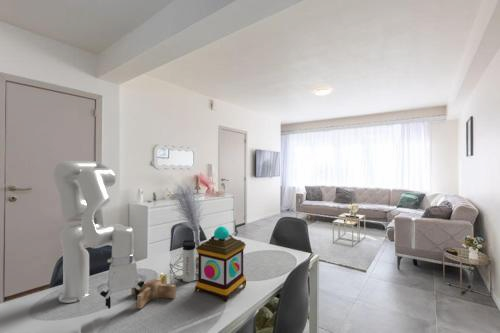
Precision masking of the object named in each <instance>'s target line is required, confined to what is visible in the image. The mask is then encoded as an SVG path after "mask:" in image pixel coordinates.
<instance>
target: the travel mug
mask: <svg viewBox="0 0 500 333" xmlns="http://www.w3.org/2000/svg"><path fill="white" fill-rule="evenodd" d="M196 248H197V247H196V241H194V240H190V239H189V240H188V239H185V240H183V241H182V281H183V282H186V283H189V282H193V281H195V280H196V273H197V272H196V271H197V270H196V267H197V266H196V261H197V260H196V255H197V254H196V253H197V250H196Z"/></svg>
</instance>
